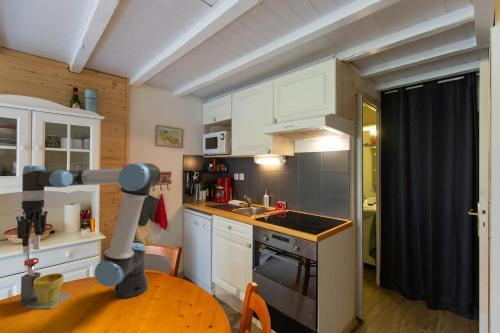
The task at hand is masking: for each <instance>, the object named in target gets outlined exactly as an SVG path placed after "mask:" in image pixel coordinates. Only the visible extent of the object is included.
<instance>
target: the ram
mask: <svg viewBox="0 0 500 333" xmlns="http://www.w3.org/2000/svg"><path fill="white" fill-rule="evenodd" d="M39 260H40V259H39V258H38V257H31V258H27V259H25V260H24V261H23V262H24V263H23V265H24V266H25V267H27V274H28V275H27V276H33V275H35V272H36V271H35V270H36V264H38V263H39Z"/></svg>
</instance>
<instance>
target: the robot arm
mask: <svg viewBox="0 0 500 333" xmlns="http://www.w3.org/2000/svg"><path fill="white" fill-rule="evenodd" d="M21 176H22V181H21V182H22V184H21V186H22V189H21V190H22V191H21V192H22V193H21V199H22V201H21V209H22V210H23V212H22V214H20V215H17V216H15V219H16V221H17V225H16V226H17V227H16V228H17V231H16V232H17V239H20V240H22V244H21V245H22V253H23V254H31V252H32V250H35V251H37V250H38V251H39V250H41V241H42V236H43V235H44V234H45V233H46V230H47V229H46V228H47V216H48V212H49V211H46V210H45V211H44V210H43V208H44V207H45V200H44V199H45V187H47V188H57V189H59V188H67V187H71V186H87V185H89V186H90V185H92V186H93V185H94V186H95V185H120V193H121V194H122V198H121V203H120V207H119V211H118V215H117V218H116V222H115V226H114V231H113V235H112V238H111V241H110V242H111V243H110V246H109V247H108V248H107V249H105V251H104V254H103V258H102V260H101V261H100V262H98V264H96V266H95V268H94V278H95V279H96V280H97V282H98V283H99V284H100V285H102V286H103V287H108V288H110V287H114V289H113V294H114V296H115V297H117V298H121V299H123V298H124V299H125V298H133V297H136V296H137V297H138V296H139V295H141V294H143V293H145V292H146V291H147V290H148V288H149V282H148V279H147V275H146V273H145V270H146V268H145V267H146V266H145V265H146V264H145V263H146V246H145V245H146V244H144V243H142V242H134V240H135V236H136V233H137V227H138V224H139V220H140V216H141V212H142V208H143V205H144V201H145V198H147V197H149V196H150V191H151V188H153V187H156V186H157V185H158V184H159V183H160V181H161V179H162V171H161V170H160V168H159V167H158V166H157V165H155V163H154V164H153V163H146V162H145V163H143V162H131V163H128V164H127V165H125V166H123V167H122V168H107V169H102V168H101V169H86V170H85V169H78V170H77V169H75V170H74V169H73V170H59V169H58V170H46V166H44V165H25V166H23V169H22V174H21ZM32 228H33V230H34V235H33V238H31V237H30V235H31V231H32Z"/></svg>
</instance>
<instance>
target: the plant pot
mask: <svg viewBox="0 0 500 333" xmlns="http://www.w3.org/2000/svg"><path fill="white" fill-rule="evenodd" d="M64 276H65V275H64V274H63V273H49V274H46V275H42V276H41V275H40V277H39V278H37V279H36V280H34V282H33V289H34V290H35V291H36V294H37V298H38V301H39V303H40V304H45V303H50V302H52V301H54V300H56V299H57V298H58V295H59V293H60V291H61V286H62V285H63V283H64Z"/></svg>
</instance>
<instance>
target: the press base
mask: <svg viewBox="0 0 500 333" xmlns="http://www.w3.org/2000/svg"><path fill="white" fill-rule="evenodd" d="M27 275H28V273H26V274H25V275H23V276H21V277H20V301H19V302H18V304H19V305H25V309H35V310H36V309H37V310H38V309H40V310H41V309H42V310H43V309H45V310H47V309H49V310H52V309H54V307H57V306H58V305H59V304H61V303H62V302H63V301H64V300H66V299H68V298H69V297H70V296H71V292H59V295H58V298H57V299H56V300H54V301H52V302H50V303H45V304H40V303H39V301H38V298H37V294H36V291H35V290H34V289H33V282H34V280H36V279H37V278H39V277H41V272H40V271H39V272H38V271H37V272H36V271H35V275H33V276H27Z"/></svg>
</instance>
